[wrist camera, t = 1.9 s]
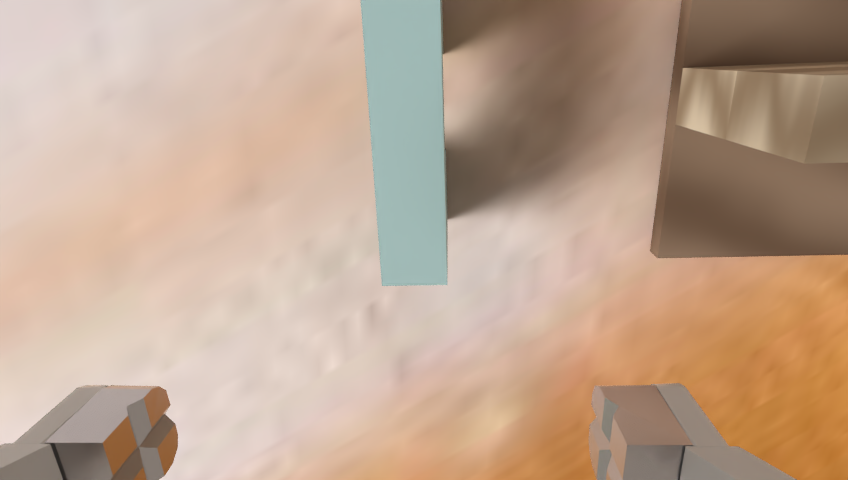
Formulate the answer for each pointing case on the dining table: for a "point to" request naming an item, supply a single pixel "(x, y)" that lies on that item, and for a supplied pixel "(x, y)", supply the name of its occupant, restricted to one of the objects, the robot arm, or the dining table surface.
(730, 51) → the stand
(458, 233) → the dining table surface
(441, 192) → the green arch block
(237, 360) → the dining table surface
